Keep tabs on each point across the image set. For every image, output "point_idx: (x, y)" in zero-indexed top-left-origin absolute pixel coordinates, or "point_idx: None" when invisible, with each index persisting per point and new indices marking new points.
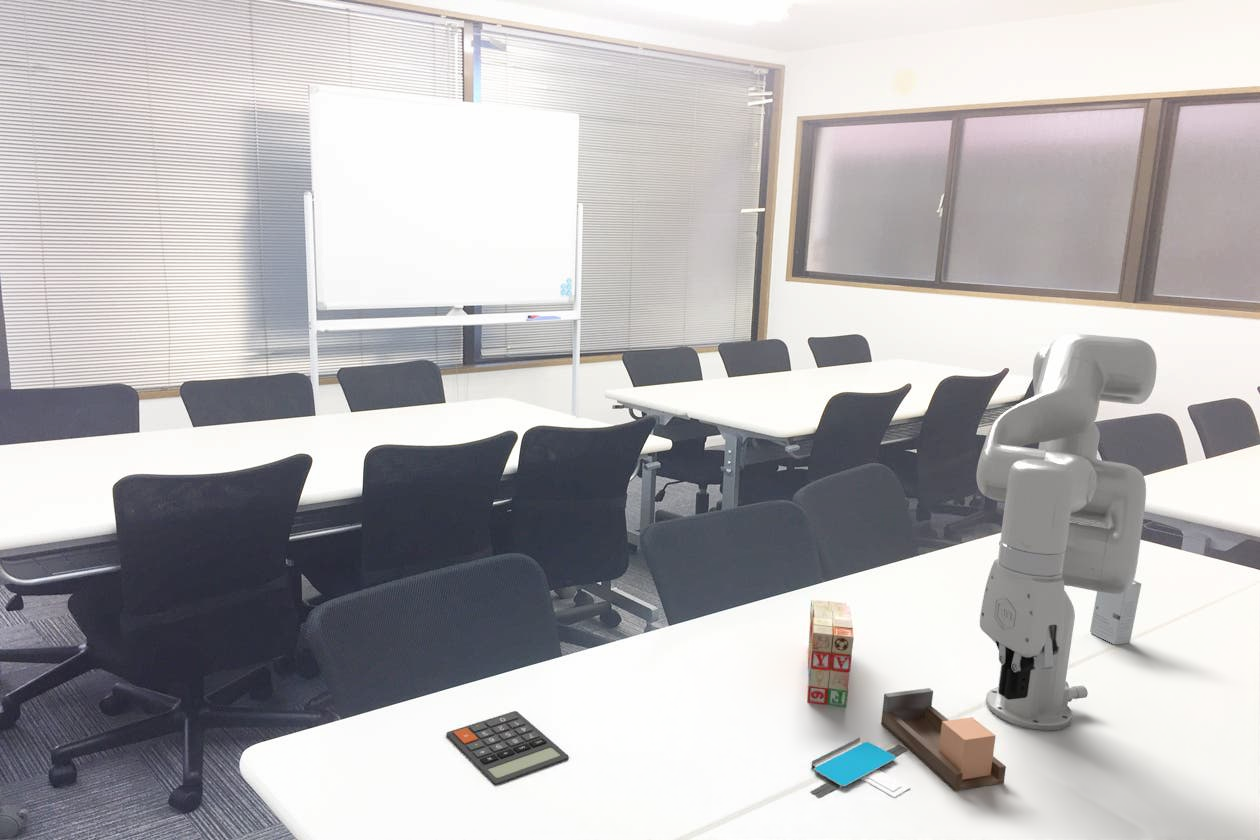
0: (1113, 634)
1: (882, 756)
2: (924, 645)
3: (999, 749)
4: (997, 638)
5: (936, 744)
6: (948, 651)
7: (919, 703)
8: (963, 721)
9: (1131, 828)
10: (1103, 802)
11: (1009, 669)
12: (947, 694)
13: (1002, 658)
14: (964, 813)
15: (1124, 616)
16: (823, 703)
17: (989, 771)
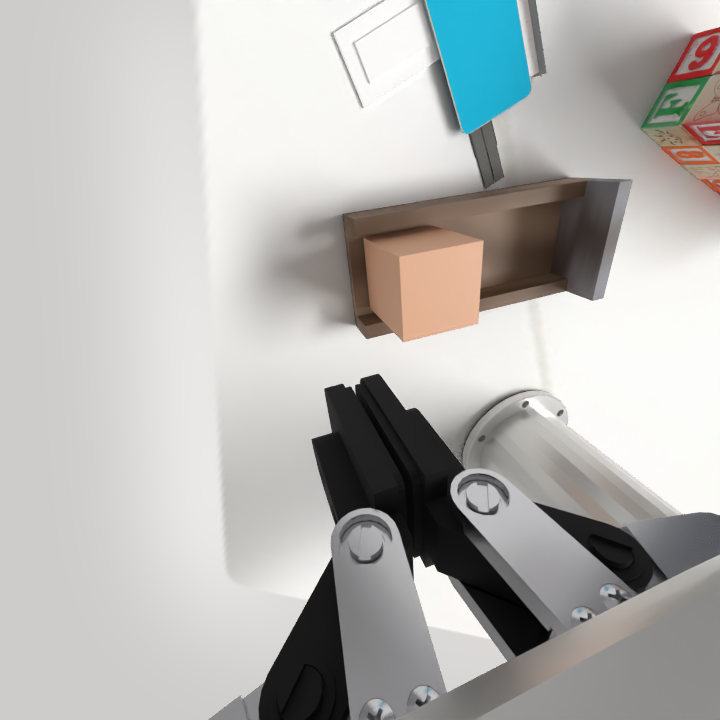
0: None
1: (474, 97)
2: (688, 367)
3: (443, 361)
4: (662, 661)
5: None
6: (661, 393)
7: (579, 265)
8: (469, 295)
9: (222, 463)
10: (291, 451)
11: (387, 493)
12: (587, 346)
13: (487, 499)
14: (265, 194)
15: None
16: (673, 74)
17: (372, 307)
